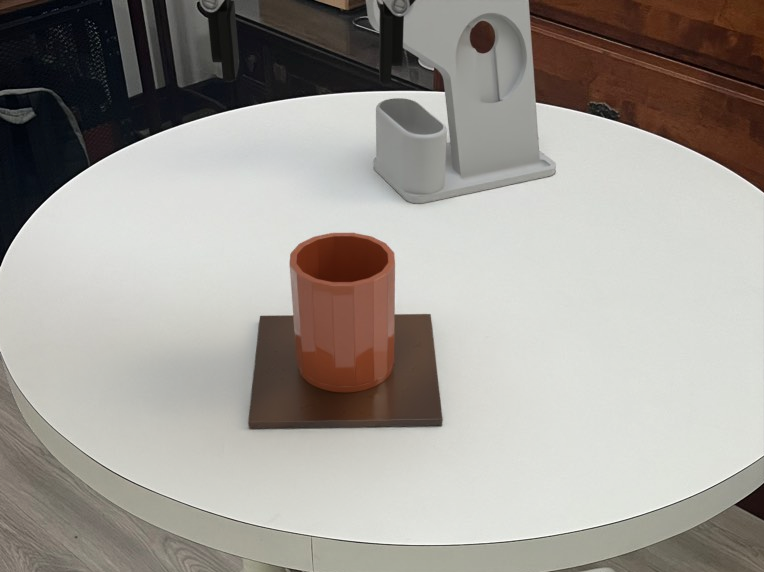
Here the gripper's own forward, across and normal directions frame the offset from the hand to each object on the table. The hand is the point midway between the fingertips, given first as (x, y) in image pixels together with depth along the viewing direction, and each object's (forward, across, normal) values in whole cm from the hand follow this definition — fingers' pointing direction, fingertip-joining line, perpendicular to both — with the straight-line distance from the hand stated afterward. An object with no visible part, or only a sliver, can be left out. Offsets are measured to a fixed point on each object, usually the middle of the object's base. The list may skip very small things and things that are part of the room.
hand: (308, 75), depth 62 cm
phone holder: (+22, -14, -34) cm, 42 cm away
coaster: (+22, -2, +1) cm, 22 cm away
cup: (+21, -2, +1) cm, 21 cm away
